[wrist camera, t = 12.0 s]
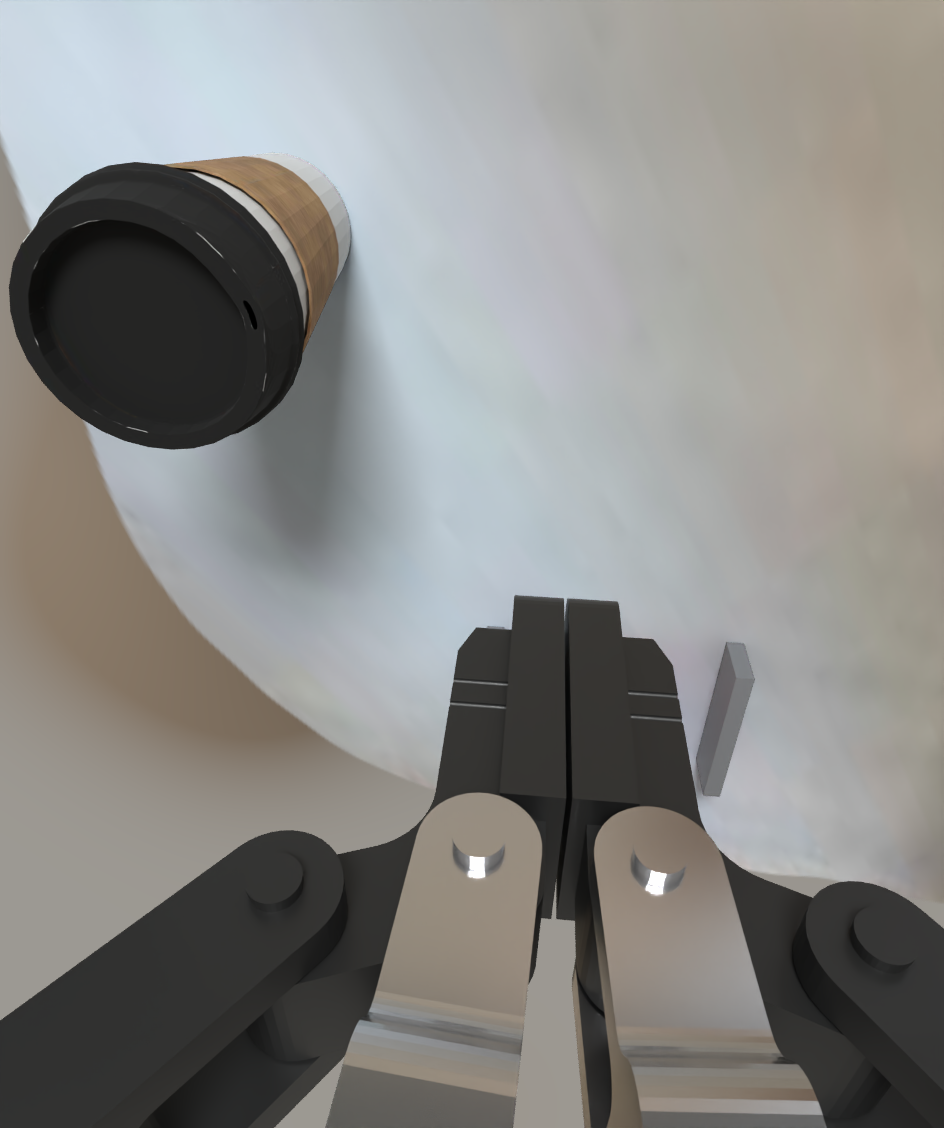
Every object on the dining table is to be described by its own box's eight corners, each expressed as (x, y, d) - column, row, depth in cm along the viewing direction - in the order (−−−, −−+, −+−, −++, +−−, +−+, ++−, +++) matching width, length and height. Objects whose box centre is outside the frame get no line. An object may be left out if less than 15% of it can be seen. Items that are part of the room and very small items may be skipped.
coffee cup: (402, 302, 36) (320, 447, 24) (235, 337, 38) (78, 490, 25) (345, 94, 31) (209, 141, 19) (158, 145, 33) (-78, 217, 21)
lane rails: (744, 643, 45) (754, 679, 43) (711, 759, 51) (719, 796, 49) (487, 626, 46) (483, 660, 44) (484, 742, 52) (480, 777, 50)
